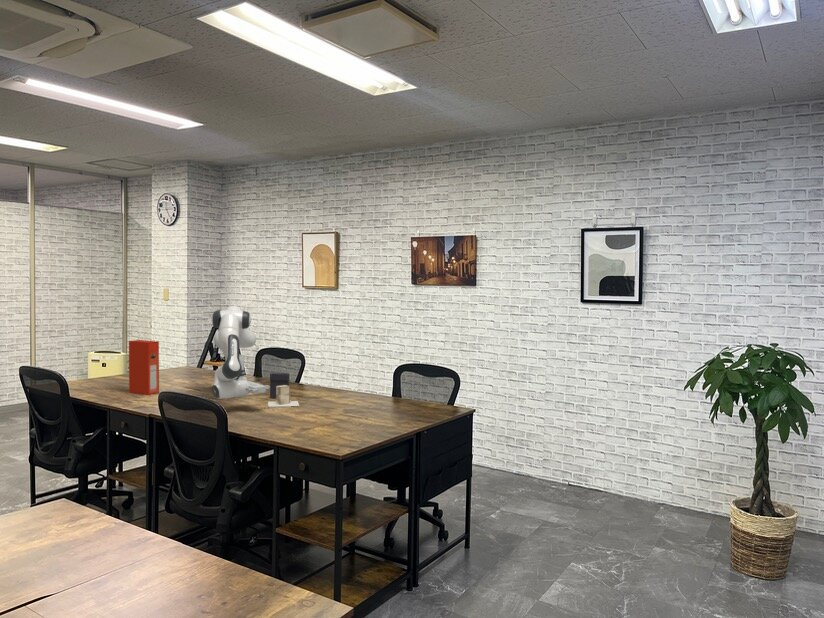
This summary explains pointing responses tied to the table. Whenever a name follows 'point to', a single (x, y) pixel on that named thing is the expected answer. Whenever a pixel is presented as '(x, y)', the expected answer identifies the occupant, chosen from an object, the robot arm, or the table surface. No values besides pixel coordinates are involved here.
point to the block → (283, 395)
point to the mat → (273, 404)
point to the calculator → (277, 382)
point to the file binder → (144, 367)
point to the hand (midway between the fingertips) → (264, 385)
